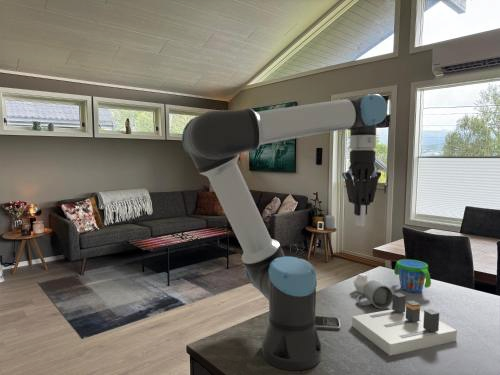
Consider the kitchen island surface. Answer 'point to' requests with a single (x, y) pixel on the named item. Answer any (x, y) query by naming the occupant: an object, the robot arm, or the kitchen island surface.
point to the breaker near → (431, 320)
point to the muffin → (360, 282)
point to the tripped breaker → (412, 311)
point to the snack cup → (412, 275)
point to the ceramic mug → (376, 295)
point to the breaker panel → (400, 331)
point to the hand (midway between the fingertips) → (360, 225)
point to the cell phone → (327, 323)
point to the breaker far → (398, 302)
